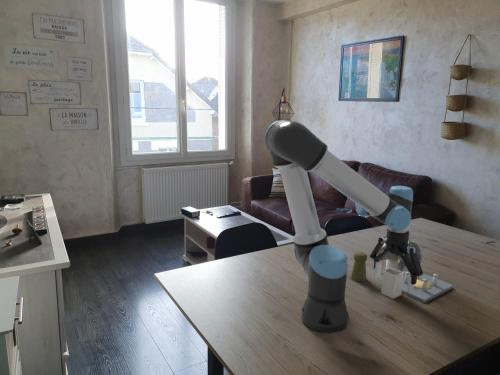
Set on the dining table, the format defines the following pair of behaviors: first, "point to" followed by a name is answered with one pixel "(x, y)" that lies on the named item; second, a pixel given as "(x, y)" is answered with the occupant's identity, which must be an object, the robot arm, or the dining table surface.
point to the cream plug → (392, 282)
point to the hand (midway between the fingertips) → (393, 284)
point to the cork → (359, 267)
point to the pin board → (429, 291)
